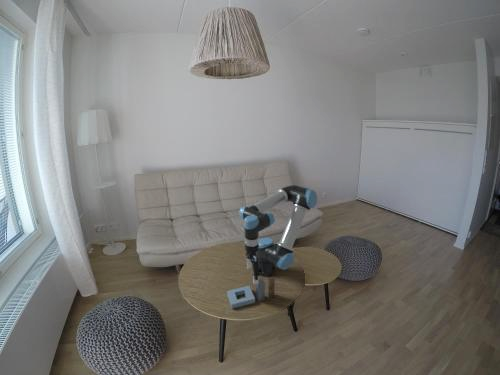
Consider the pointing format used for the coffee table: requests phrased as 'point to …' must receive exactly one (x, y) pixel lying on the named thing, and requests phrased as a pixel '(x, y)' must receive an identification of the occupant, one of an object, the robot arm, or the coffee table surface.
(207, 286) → the coffee table surface
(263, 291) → the square bit
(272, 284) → the walnut dowel
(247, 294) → the bore block
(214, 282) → the coffee table surface
